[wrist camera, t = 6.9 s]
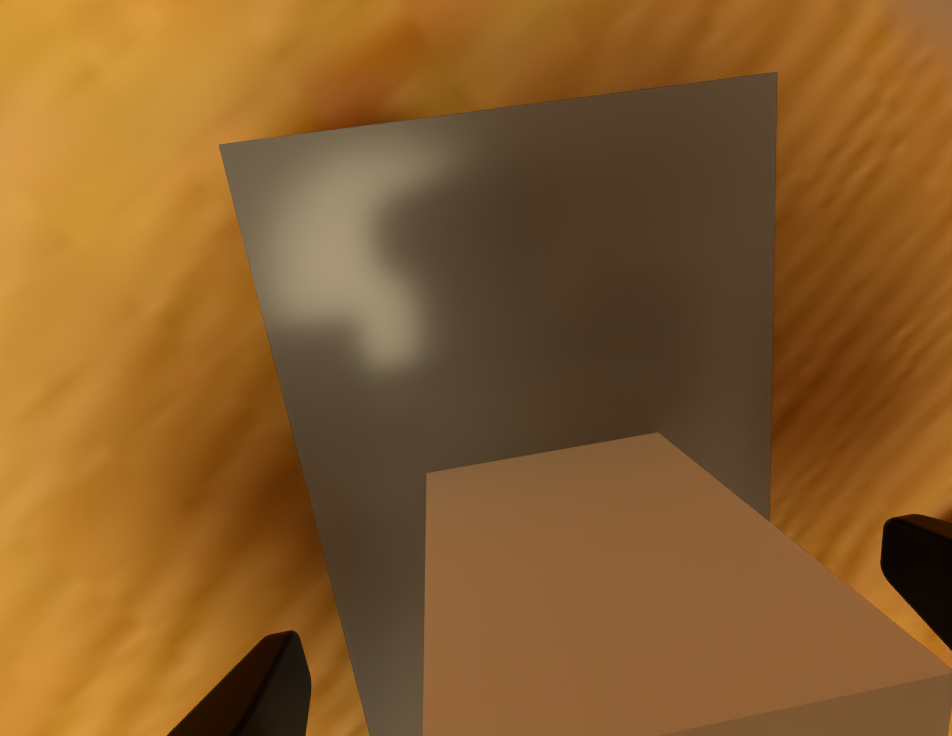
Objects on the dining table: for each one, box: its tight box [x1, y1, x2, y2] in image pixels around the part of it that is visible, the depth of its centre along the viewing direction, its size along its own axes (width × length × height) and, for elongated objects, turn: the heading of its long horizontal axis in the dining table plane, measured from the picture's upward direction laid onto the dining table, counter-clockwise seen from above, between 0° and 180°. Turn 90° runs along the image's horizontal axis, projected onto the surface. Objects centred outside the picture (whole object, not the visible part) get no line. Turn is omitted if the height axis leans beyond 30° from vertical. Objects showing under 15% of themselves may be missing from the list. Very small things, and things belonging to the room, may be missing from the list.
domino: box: [423, 432, 952, 736], centre depth 7 cm, size 2×5×6 cm, turn 98°
